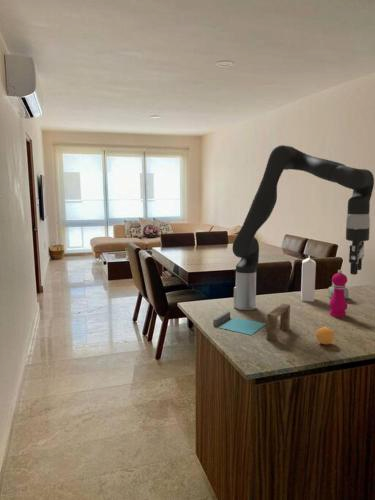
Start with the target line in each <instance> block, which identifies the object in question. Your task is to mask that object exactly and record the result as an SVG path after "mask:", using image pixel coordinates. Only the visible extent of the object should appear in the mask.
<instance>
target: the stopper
mask: <svg viewBox="0 0 375 500" xmlns="http://www.w3.org/2000/svg"><path fill="white" fill-rule="evenodd" d="M230 318H231V312H230V311H227V312H225V313H223V314H221V315H219V316H217V317H215V318H214V319H213V320H212V321H213V322H212V323H213V325H215V326H214V327H217V326H219V325H221V324H222V323H224V322H226V321H227V320H228V319H230ZM225 320H226V321H225ZM223 321H224V322H223ZM220 323H221V324H220ZM218 324H219V325H218ZM216 325H217V326H216Z"/></svg>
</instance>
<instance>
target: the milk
mask: <svg viewBox="0 0 375 500" xmlns="http://www.w3.org/2000/svg"><path fill="white" fill-rule="evenodd" d="M301 263H302V264H301V283H300V284H301V285H300V299H301V301H302V302H315V295H316V294H315V292H316V270H317V269H316V268H317V267H316V266H317V263H316V261H315V260H314V259H312V258H311V256H310V255H308V257H307V258H305V259H303V260H302V261H301Z"/></svg>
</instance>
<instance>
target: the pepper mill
mask: <svg viewBox="0 0 375 500" xmlns="http://www.w3.org/2000/svg"><path fill="white" fill-rule="evenodd" d="M346 275H347V274H344V273H343V270H342V269H338V270H337V273H335V274H334V275H332V277H331V282H332V281H333V283H334V284H333V288H334V294H333V296H332V298H330V300H329V302H328V303H329V308H330V311H329V315H330V316H332V317H335V318H345V317H346V314H347V312H346V310H347V308H348V303H347V302H348V301H347V300H346V299H347V298H346V299H345V296H344V289H345V288H347V286H346V284H347V283H348V276H346Z"/></svg>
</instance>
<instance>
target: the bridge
mask: <svg viewBox="0 0 375 500" xmlns="http://www.w3.org/2000/svg"><path fill="white" fill-rule="evenodd" d="M290 315H291V304H289V303H281V304H280V305H278V306H277V307H276V308H274V309H272V310H271V311H270V312H269V313H267V321H266V322H267V323H266V327H267V328H266V329H267V330H266V340H267V341H272V342H276V341H277V340H278V317H280V320H279V329H281V330H286V331H288V330H290V319H291V317H290Z"/></svg>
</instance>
